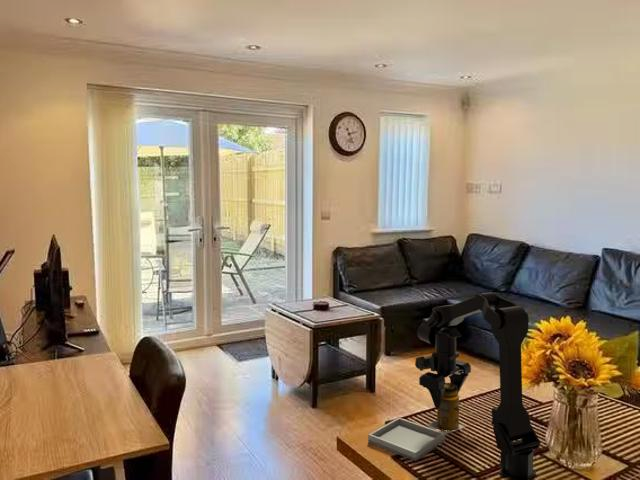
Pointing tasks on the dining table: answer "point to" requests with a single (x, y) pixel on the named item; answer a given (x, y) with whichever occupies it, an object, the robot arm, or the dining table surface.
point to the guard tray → (406, 438)
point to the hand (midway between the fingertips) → (445, 402)
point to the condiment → (448, 410)
